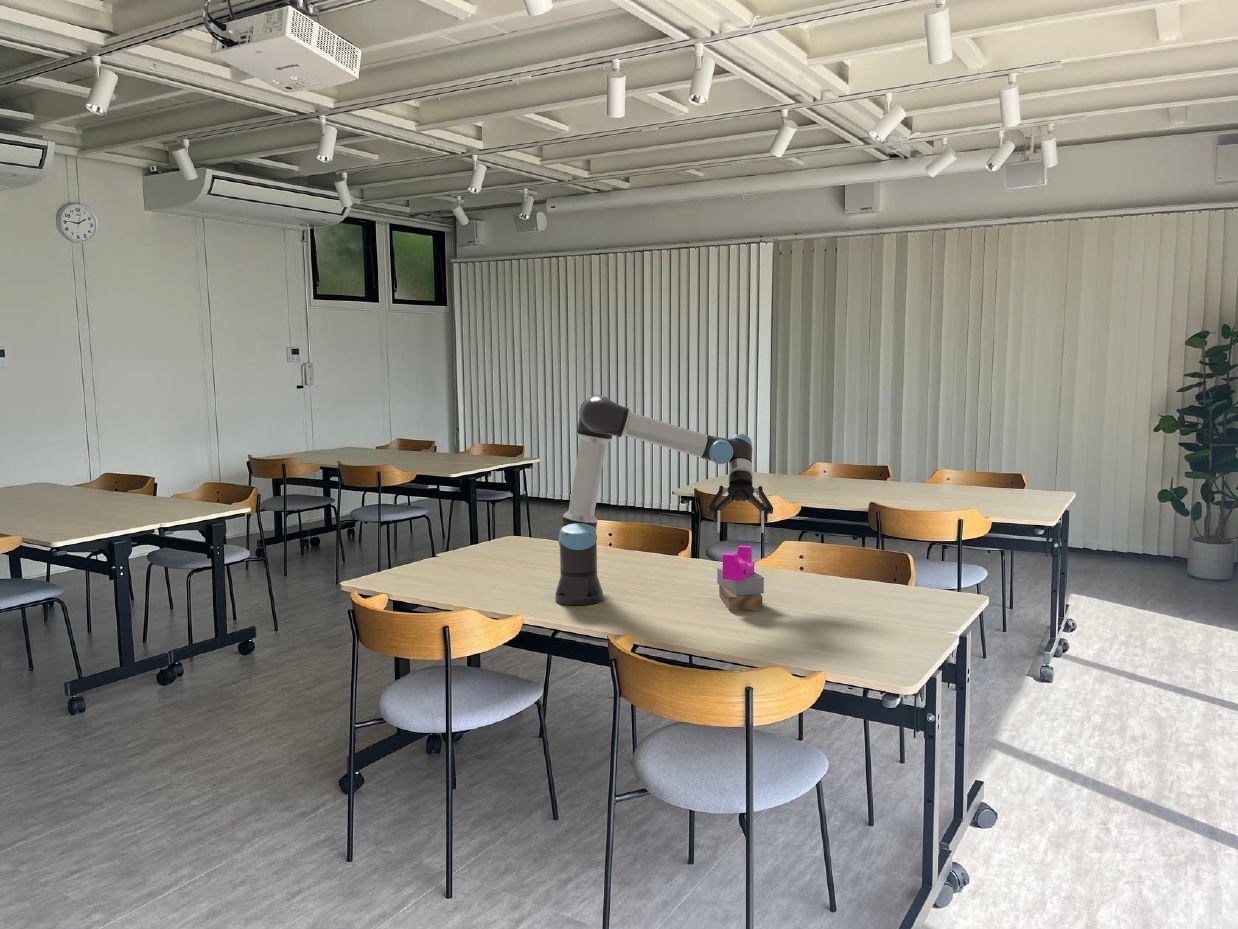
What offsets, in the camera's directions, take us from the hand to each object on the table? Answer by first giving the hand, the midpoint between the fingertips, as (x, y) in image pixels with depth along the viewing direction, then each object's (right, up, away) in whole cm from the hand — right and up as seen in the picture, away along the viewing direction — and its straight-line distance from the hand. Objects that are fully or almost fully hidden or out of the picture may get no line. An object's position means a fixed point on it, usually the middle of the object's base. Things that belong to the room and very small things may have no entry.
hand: (740, 530), depth 284 cm
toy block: (0, -14, -4) cm, 14 cm away
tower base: (0, -23, -1) cm, 23 cm away
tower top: (0, -18, 0) cm, 18 cm away
